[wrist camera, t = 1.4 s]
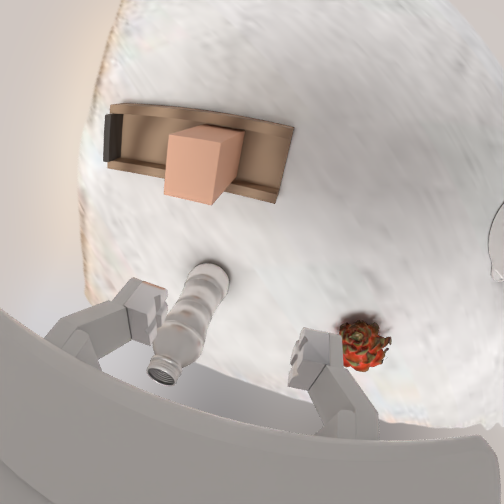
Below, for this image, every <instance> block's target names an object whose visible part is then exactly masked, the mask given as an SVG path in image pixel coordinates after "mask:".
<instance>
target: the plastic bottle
mask: <svg viewBox="0 0 504 504" xmlns="http://www.w3.org/2000/svg"><path fill="white" fill-rule="evenodd" d="M228 287H229V279H228V276H227V274H226V273H225V271H224V270H223V269H222V268H220V267H219V266H217V265H215V264H210V263H206V264H200V265H198V266H196V267H195V268H194V269H193V270H192V271H191V272H190V273H189V275H188V277H187V279H186V282H185V285H184V289H183V291H182V293H181V295H180V297H179V299H178V301H177V302H176V304H175V305H174V306H173V308H172V309H171V311H170V312H169V313H168V315H167V316H166V319H165V321H164V323H163V325H162V327H159V328H157V335H156V337H155V339H154V341H153V342H152V344H153V350H154V353H155V355H154V356H153V357H152V358H151V360H150V364H149V366H148V368H147V374H148V376H149V377H150V378H151V379H152V380H154V381H155V382H157V383H159V384H161V385H164V386H174V385H175V384H176V383H177V380H178V378H179V377H180V375H181V373H182V368H184V367H186V366H188V365H190V364H192V363H193V362H195V361H196V360H197V359H198V358H199V357H200V355H201V353H202V350H203V347H204V342H205V338H206V334H207V330H208V327H209V324H210V321H211V319H212V316H213V314H214V313H215V311H216V309H217V307H218V306H219V304H220V303H221V302H222V301H223V299H224V297H225V296H226V294H227V292H228Z"/></svg>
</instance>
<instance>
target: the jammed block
mask: <svg viewBox="0 0 504 504" xmlns="http://www.w3.org/2000/svg"><path fill="white" fill-rule="evenodd" d="M244 134H245V131H244V130H239V129H234V128H228V127H222V126H217V125H210V124H203V125H199V126H196V127H192V128H189V129H185V130H182V131H179V132H175V133H172V134H169V139H168V149H167V159H166V171H165V184H164V195H169V196H173V197H178V198H182V199H186V200H191V201H195V202H199V203H204V204H208V205H212V204H213V203H214V202H215V201H216V200H217V198H218V197H219V196H220V195H221V194H222V193H223V192H224V190H225V189H226V188H227V187H228V186H229V185H230V184H231V182H232V181H233V180H234V179H235V178H236V177H237V171H238V166H239V160H240V155H241V150H242V144H243V139H244Z"/></svg>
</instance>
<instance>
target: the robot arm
mask: <svg viewBox="0 0 504 504" xmlns="http://www.w3.org/2000/svg"><path fill="white" fill-rule="evenodd" d="M488 246H489V255H490V258H491V261H492V271H491V276H492V278H493V279H494V280H495V281H500V282H504V204H503V205H502V206H501V208H500V209H499V211H498V213H497V215H496V217H495V219H494V221H493V224H492V227H491V231H490V235H489V245H488ZM167 297H168V292H167V289H165V288H162V287H159V286H157V285H154V284H151V283H148V282H146V281H142V280H139V279H137V278H134V277H133V278H131V279H130V280H129V281H128V282H127V283H126V285H125V286H124V287H123V288H122V289H121V291H120V292H119V293H118V294H117V295H116V297H115V298H114V299H113V300H112V301H109V300H108V301H105V302H103V303H100V304H97V305H95V306H92V307H89V308H87V309H84V310H81V311H79V312H76V313H74V314H71V315H68V316H66V317H63V318H61V319H60V320H59V321H58V322H57V323H56V324H55V326H54V327H53V328H52V329H51V330H50V331H49V333H48V334H47V335H46V336H45V338H42V337H40V336H39V335H37V334H36V333H34V332H33V331H31V330H30V329H28V328H27V327H26V326H24V325H23V324H21V323H20V322H18V321H17V320H15V319H14V318H13V317H11V316H10V315H9V314H8V313H6V312H5V311H4V310H2V309H1V308H0V504H501V484H500V471H499V463H498V458H497V455H496V454H495V452H494V451H493V449H492V448H491V447H490V445H489V444H488V443H487V441H486V440H485V439H484V438H483V437H482V436H481V435H477V434H476V435H467V436H460V437H452V438H442V439H430V440H408V441H380V434H379V418H378V412H377V410H376V409H375V407H374V406H373V405H372V403H371V402H370V400H369V399H368V398H367V396H366V395H365V393H364V392H363V390H362V389H361V388H360V386H359V385H358V383H357V382H356V381H355V379H354V378H353V376H352V375H351V374H350V372H349V371H348V369H345V368H344V366H343V348H342V337H341V335H338V334H333V333H328V332H323V331H319V330H314V329H310V328H305V327H304V328H303V329H302V331H301V333H300V338H299V340H298V341H296V343H295V346H294V348H293V351H292V355H291V361H290V364H291V365H292V368H291V370H290V372H289V377H288V386H289V387H293V388H297V389H302V390H306V391H308V393H309V395H310V397H311V400H312V402H313V404H314V406H315V408H316V410H317V412H318V414H319V416H320V418H321V421H322V423H323V425H324V427H322V428H321V429H320V430H319V431H318V432H317V433H316V434H315V435H313V436H312V435H306V434H299V433H293V432H287V431H281V430H276V429H270V428H266V427H261V426H256V425H252V424H248V423H243V422H239V421H235V420H232V419H228V418H224V417H220V416H216V415H213V414H210V413H207V412H203V411H200V410H197V409H194V408H191V407H188V406H185V405H182V404H179V403H176V402H173V401H170V400H168V399H165V398H162V397H160V396H157V395H154V394H152V393H149V392H147V391H144V390H142V389H139V388H137V387H135V386H132V385H130V384H128V383H126V382H123V381H121V380H119V379H117V378H115V377H113V376H110V375H108V374H106V373H104V372H102V370H101V367H100V365H99V362H98V359H100V358H102V357H104V356H105V355H107V354H109V353H110V352H112V351H114V350H116V349H117V348H119V347H121V346H122V345H124V344H126V343H127V342H129V341H131V339H132V340H135V341H138V342H141V343H143V344H146V345H149V346H151V344H152V342H153V341H154V339H155V337H156V335H157V328H159V327H162V325H163V323H164V321H165V319H166V316H167V311H168V305H167V303H166V302H165V300H166V299H167Z"/></svg>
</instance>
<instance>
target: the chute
mask: <svg viewBox="0 0 504 504" xmlns="http://www.w3.org/2000/svg"><path fill="white" fill-rule="evenodd" d="M110 113H113V114H108V115H105V127H104V152H103V161H104V162H108V168H109V169H115V170H121V171H127V172H132V173H138V174H143V175H148V176H154V177H159V178H164V179H165V171H166V159H167V149H168V139H169V134H172V133H175V132H179V131H182V130H185V129H189V128H192V127H196V126H199V125H203V124H210V125H217V126H222V127H228V128H234V129H239V130H244V131H245V134H244V139H243V144H242V150H241V155H240V160H239V166H238V171H237V177H236V178H235V179H234V180H233V181H232V182H231V184H230V185H229V186H228V187H227V188H226V189H225V190H224V192H229V193H233V194H237V195H241V196H245V197H250V198H254V199H258V200H262V201H266V202H270V203H274V204H275V203H276V199H277V196H278V192H279V188H280V184H281V180H282V176H283V172H284V168H285V163H286V159H287V155H288V151H289V147H290V143H291V138H292V134H293V130H294V127H291V126H287V125H282V124H278V123H274V122H269V121H264V120H260V119H255V118H250V117H244V116H239V115H233V114H227V113H221V112H214V111H208V110H200V109H192V108H184V107H174V106H163V105H150V104H132V103H121V104H113V105H110Z"/></svg>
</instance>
